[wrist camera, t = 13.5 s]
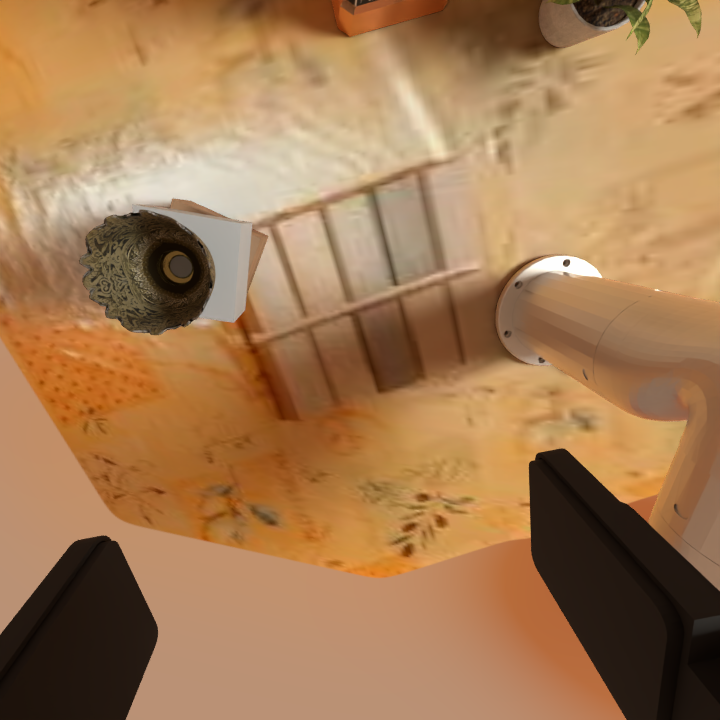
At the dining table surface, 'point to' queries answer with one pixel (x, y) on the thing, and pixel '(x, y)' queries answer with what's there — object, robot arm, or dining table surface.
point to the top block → (216, 259)
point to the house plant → (601, 19)
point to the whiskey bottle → (380, 13)
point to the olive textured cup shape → (147, 272)
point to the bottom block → (256, 237)
